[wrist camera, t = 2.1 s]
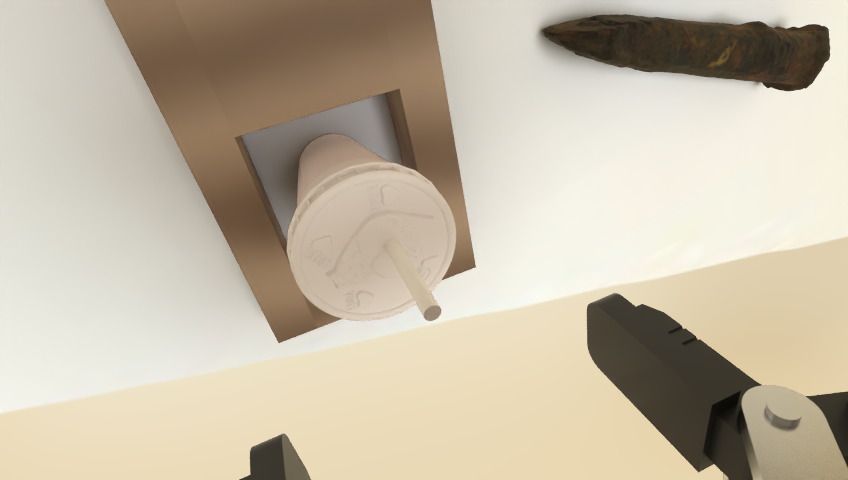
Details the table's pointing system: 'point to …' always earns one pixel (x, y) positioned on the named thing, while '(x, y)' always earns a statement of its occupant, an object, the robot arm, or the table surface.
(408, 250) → the smoothie
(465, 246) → the wooden tray
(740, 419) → the robot arm
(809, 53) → the hand tool
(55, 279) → the table surface
